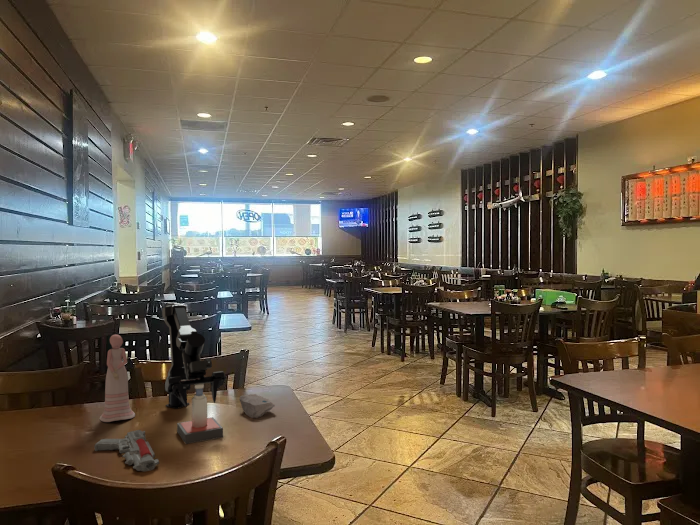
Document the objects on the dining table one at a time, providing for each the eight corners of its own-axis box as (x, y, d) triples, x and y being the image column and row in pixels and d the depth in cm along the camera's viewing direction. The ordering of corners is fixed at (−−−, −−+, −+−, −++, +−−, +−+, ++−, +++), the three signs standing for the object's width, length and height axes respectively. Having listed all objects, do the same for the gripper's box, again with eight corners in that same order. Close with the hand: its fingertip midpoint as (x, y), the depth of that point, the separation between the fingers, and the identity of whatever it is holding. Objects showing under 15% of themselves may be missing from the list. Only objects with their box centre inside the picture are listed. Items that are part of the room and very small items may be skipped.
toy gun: (101, 471, 137) (160, 457, 144) (93, 438, 160) (144, 427, 167) (102, 484, 137) (161, 469, 145) (93, 449, 160) (144, 438, 168)
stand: (177, 431, 172) (177, 422, 172) (212, 425, 178) (212, 416, 178) (185, 444, 162) (185, 434, 162) (223, 437, 168) (223, 427, 168)
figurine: (114, 410, 194) (114, 331, 193) (144, 412, 191) (143, 332, 190) (89, 421, 181) (88, 337, 180) (121, 424, 179) (120, 339, 177)
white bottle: (189, 427, 168) (189, 386, 167) (195, 422, 173) (195, 382, 172) (203, 427, 168) (203, 386, 167) (209, 422, 172) (209, 382, 172)
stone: (276, 414, 192) (276, 398, 192) (256, 420, 185) (255, 403, 185) (255, 406, 201) (255, 391, 201) (235, 412, 194) (235, 396, 194)
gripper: (167, 353, 168) (174, 395, 159) (224, 347, 177) (234, 387, 168) (163, 371, 175) (169, 413, 166) (217, 365, 184) (226, 404, 175)
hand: (200, 404), depth 169 cm, fingers open, 9 cm apart
